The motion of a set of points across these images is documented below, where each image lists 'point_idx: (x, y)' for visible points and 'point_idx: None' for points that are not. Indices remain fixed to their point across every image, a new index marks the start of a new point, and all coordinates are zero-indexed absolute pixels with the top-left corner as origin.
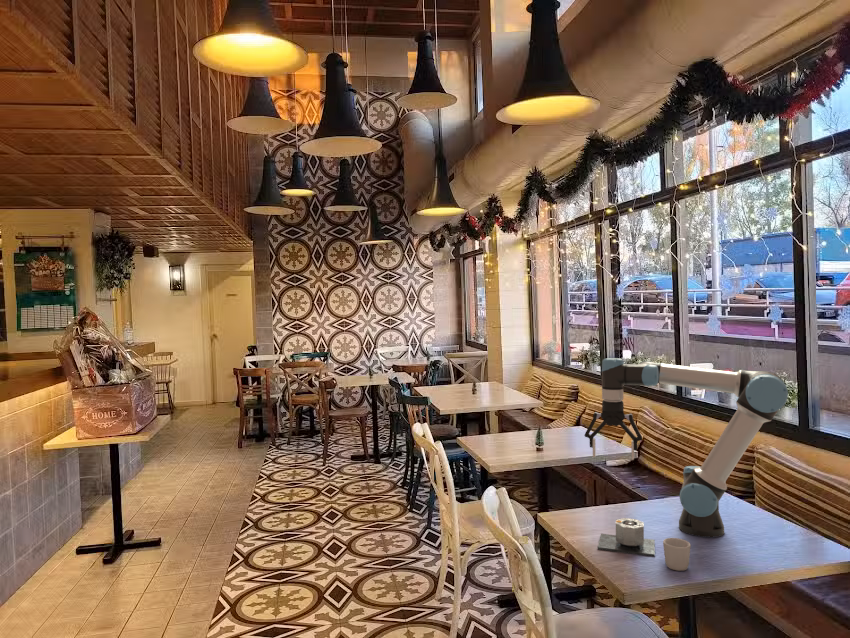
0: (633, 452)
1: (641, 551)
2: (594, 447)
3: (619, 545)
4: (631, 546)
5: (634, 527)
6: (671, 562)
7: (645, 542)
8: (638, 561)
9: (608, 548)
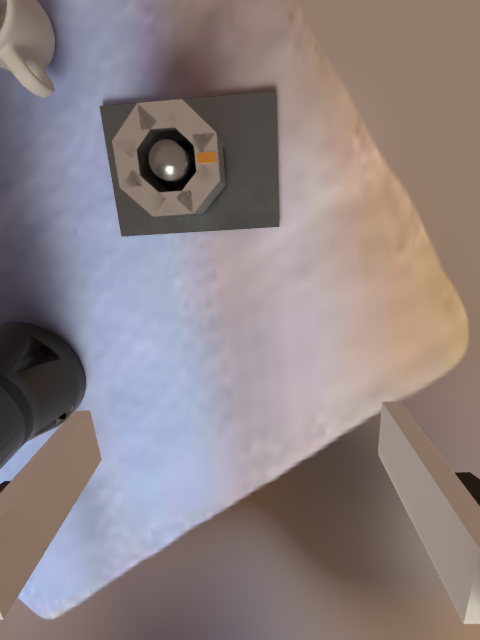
0: (38, 453)
1: None
2: (425, 462)
3: None
4: None
5: (140, 110)
6: None
7: None
8: (141, 41)
9: (241, 94)
